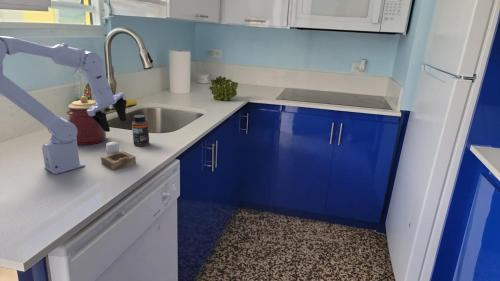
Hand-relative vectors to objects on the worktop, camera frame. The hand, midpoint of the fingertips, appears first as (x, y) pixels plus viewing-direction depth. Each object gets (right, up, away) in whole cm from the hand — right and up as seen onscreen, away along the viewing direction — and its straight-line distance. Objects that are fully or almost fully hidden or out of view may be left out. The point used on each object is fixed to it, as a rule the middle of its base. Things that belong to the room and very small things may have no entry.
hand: (115, 125), depth 117 cm
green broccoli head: (+28, +21, +102) cm, 107 cm away
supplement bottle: (+4, -7, +16) cm, 18 cm away
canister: (-18, -5, +18) cm, 26 cm away
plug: (-1, -11, +2) cm, 11 cm away
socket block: (+3, -13, -4) cm, 14 cm away
